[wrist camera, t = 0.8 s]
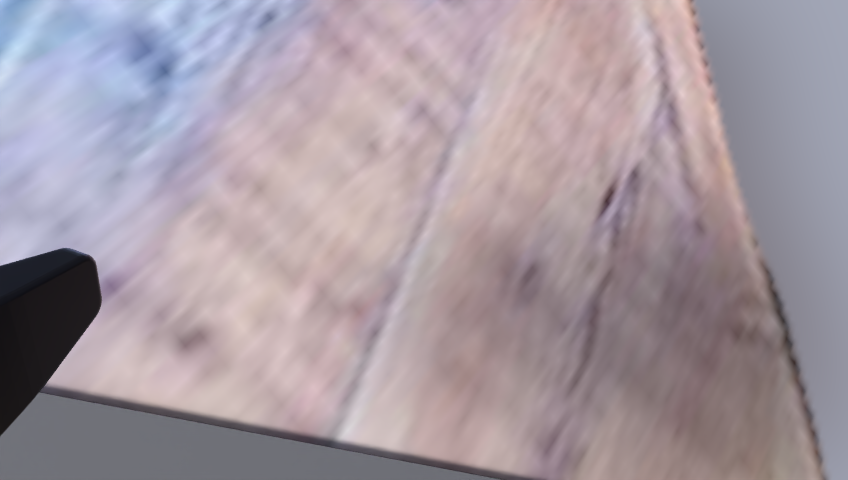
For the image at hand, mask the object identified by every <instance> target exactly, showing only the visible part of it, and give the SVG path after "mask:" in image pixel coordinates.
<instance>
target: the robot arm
mask: <svg viewBox="0 0 848 480" xmlns="http://www.w3.org/2000/svg"><path fill="white" fill-rule="evenodd" d="M101 302H102V296H101V290H100V284H99V278H98V272H97V266H96V262H95V260H94V259H93V258H92V257H91V256H90V255H87V254H84V253H82V252H79V251H76V250H73V249H70V248H62V249H58V250H54V251H51V252H47V253H44V254H40V255H37V256H33V257H30V258H26V259H23V260H19V261H16V262H12V263H9V264H5V265H2V266H0V436H1V435H2V434H3V433H4V432H5V431H6V430H7V429H8V427H9V426H10V425H11V424H12V423H13V422H14V421H15V420H16V419H17V418H18V416H19V415H20V414H21V413H22V412H23V411H24V410H25V409H26V407H27V406H28V405H29V404H30V403H31V402H32V401H33V399H34V398H35V397H36V396H37V394H38V393H39V392H40V391H41V389H42V388H43V387H44V386H45V384H46V383H47V382H48V380H49V379H50V378H51V376H52V375H53V374H54V372H55V371H56V370H57V368H58V367H59V365H60V364H61V363H62V361H63V360H64V359H65V357H66V356H67V355H68V353H69V352H70V351H71V349H72V348H73V347H74V345H75V344H76V343H77V341H78V340H79V339H80V337H81V336H82V335H83V333H84V332H85V331H86V329H87V328H88V327H89V325H90V324H91V322H92V321H93V320H94V318H95V317H96V315H97V314H98V312H99V310H100V307H101Z"/></svg>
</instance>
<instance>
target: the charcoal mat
mask: <svg viewBox="0 0 848 480" xmlns="http://www.w3.org/2000/svg"><path fill="white" fill-rule="evenodd" d="M0 480H502V479H497V478H491V477H486V476H481V475H476V474H470V473H465V472H460V471H454V470H449V469H444V468H438V467H433V466H428V465H423V464H417V463H412V462H407V461H401V460H396V459H391V458H385V457H380V456H375V455H370V454H364V453H359V452H354V451H348V450H343V449H338V448H332V447H327V446H322V445H316V444H311V443H306V442H301V441H295V440H290V439H285V438H279V437H274V436H269V435H263V434H258V433H253V432H248V431H242V430H237V429H232V428H226V427H221V426H216V425H210V424H205V423H200V422H194V421H189V420H184V419H179V418H173V417H168V416H163V415H157V414H152V413H147V412H141V411H136V410H131V409H126V408H120V407H115V406H110V405H104V404H99V403H94V402H88V401H83V400H78V399H73V398H67V397H62V396H57V395H51V394H46V393H41V392H39V393H38V394H37V396H36V397H35V398H34V399H33V401H32V402H31V403H30V404H29V405H28V406H27V407H26V409H25V410H24V411H23V412H22V413H21V414H20V415H19V416H18V418H17V419H16V420H15V421H14V422H13V423H12V424H11V425H10V426H9V427H8V429H7V430H6V431H5V432H4V433H3V434H2V435H1V436H0Z"/></svg>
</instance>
